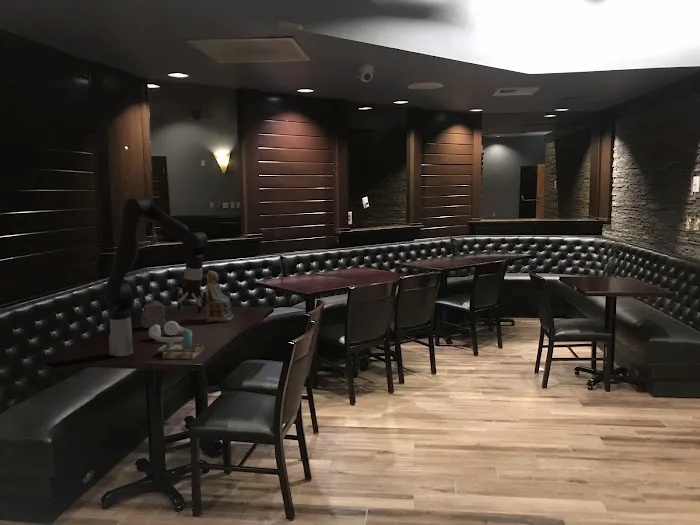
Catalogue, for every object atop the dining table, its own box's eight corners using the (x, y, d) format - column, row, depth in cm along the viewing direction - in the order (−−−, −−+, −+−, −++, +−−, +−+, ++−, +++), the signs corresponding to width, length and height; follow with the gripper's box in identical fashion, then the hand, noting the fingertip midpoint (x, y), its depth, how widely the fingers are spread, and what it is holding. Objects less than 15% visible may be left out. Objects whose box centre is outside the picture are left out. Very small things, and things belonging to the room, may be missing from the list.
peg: (182, 355, 271) (181, 331, 269) (185, 353, 274) (184, 330, 273) (190, 355, 270) (189, 331, 269) (193, 353, 274) (192, 330, 273)
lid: (158, 351, 269) (157, 342, 268) (164, 346, 277) (164, 338, 277) (175, 351, 268) (175, 343, 268) (182, 346, 277) (181, 338, 276)
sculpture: (227, 324, 336) (225, 273, 333) (200, 324, 336) (198, 273, 333) (236, 316, 360) (235, 268, 357) (211, 316, 361) (209, 268, 357)
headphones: (144, 340, 300) (171, 348, 290) (144, 324, 299) (171, 333, 289) (173, 332, 317) (200, 340, 307) (173, 318, 316) (200, 325, 306)
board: (162, 358, 265) (162, 351, 265) (175, 349, 281) (175, 342, 281) (193, 358, 264) (192, 351, 264) (204, 349, 280) (203, 342, 280)
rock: (173, 326, 333) (172, 300, 331) (158, 330, 322) (157, 303, 320) (154, 324, 339) (153, 298, 337) (139, 328, 328) (138, 302, 326)
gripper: (174, 276, 254) (170, 312, 257) (206, 281, 253) (202, 317, 257) (179, 272, 261) (176, 307, 264) (211, 277, 261) (207, 312, 264)
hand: (189, 312), depth 260 cm, fingers open, 8 cm apart
